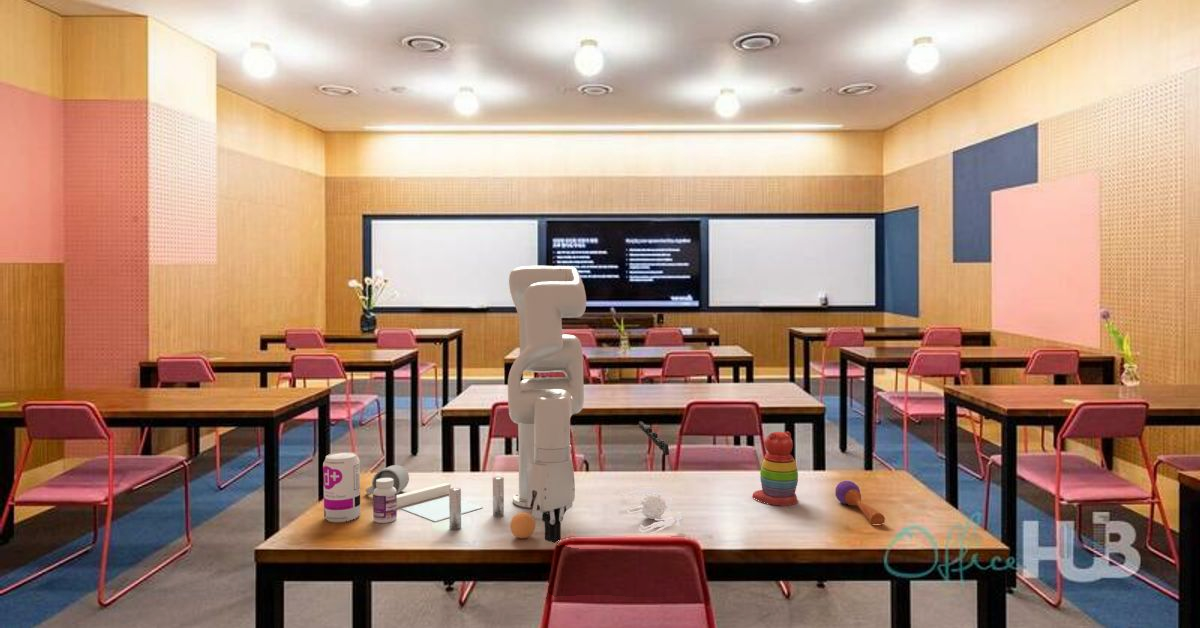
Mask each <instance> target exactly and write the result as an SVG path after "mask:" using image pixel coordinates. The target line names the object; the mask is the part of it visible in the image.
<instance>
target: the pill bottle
mask: <svg viewBox="0 0 1200 628" xmlns="http://www.w3.org/2000/svg"><path fill="white" fill-rule="evenodd" d="M393 484H394V481H393V479H392V478H380V479H377V480H376V487H377V488H376V489H375V490H374V491H373V493H372V504H373V505H372V508H373V509H372V512H373V515H372V519H373V522H375V523H379V524H389V523H391V522H394V521H396V520H397V517H398V512H397V511H398V510H397V509H398V508H397V495H398V494H397V491H396V488H395V487H393Z"/></svg>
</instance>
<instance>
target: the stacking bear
mask: <svg viewBox="0 0 1200 628" xmlns="http://www.w3.org/2000/svg"><path fill="white" fill-rule="evenodd" d="M793 444H794V443H793V439H792V434H791V432H790V431H789V430H788V431H785V432H783V431H774V432H771V433H769V435H767V437H766V438H765V440H764V446H765V450H766V451H767V453H766V454H764V458H763V460H762V462H761V463H762V464H761V467H760V473H759V475H760V483H761V489H759V490H756V491H754V492H753V493H752V499H753V498H755V499H757V500H759V501H762V502H765V503H768V504H767V505H770V504H774V505H773V506H775V505H782V506H781V507H784V506H783V505H789V506H793V505H795V504H797V502H798V497H797V494H796V490H797V486H798V480H799V472H798V469H797V468H798V467H797V466H798V465H797V462H796V460H795V459H794V457H793V455H792V454H791V453H792V450H793V446H794V445H793ZM755 499H754V500H755ZM757 500H756V501H757ZM759 501H758V502H759ZM762 502H761V503H762ZM765 503H764V504H765ZM792 504H793V505H792Z"/></svg>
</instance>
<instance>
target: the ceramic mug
mask: <svg viewBox="0 0 1200 628" xmlns="http://www.w3.org/2000/svg"><path fill="white" fill-rule="evenodd" d="M380 478H392V479H393V481H394V484H393V487H395V488H396V491H397V495H399V494H400V493H401V492H402V491H403V490H405V488H406V487H407V486H408V484H409V481H410V475H409V472H408V471H407V469H406V468H405V467H404V466H402V465H399V464H398V465H397V464H394V465H393V464H392V465H390V466H387V467H385V468H383V469H380V470H378V471H377V472H376V473H375V474H374V476H373V477H372V480H371V481H372V482H371V486H370V487H368V488H366V489H365V493H366V494H367V495H371V494H373V491H374V490H375V489H376V488H377V487H376V480H377V479H380Z"/></svg>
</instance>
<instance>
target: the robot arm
mask: <svg viewBox="0 0 1200 628" xmlns="http://www.w3.org/2000/svg"><path fill="white" fill-rule="evenodd" d="M578 270H579V269H577V267H574V266H569V265H567V266H566V265H565V266H564V265H563V266H562V265H554V266H553V265H526V266H518V267H516V268H514V269H512V271H510V273H509V277H508V285H509V292H510V297H511V299H512V302H513V304H514V307H515V309H516V312H517V316H518V321H519V322H518V324H519V326H518V327H519V333H518V334H519V354H518V356H517V357H516V358H515V359H514V361H513V364H512V365H511V366H510V367H511V368H510V370H509V373H508V377H507V401H508V403H507V405H508V408H507V409H508V414H509V417H510V419H511V421H512V422H513V423H514V424H516V425H517V427H518V428H517V430H518V435H517V436H518V493H515V494H514V495H513V496H512V503H513V504H515V505H516V506H517V507H521V508H527V509H532V512H531V516H532V517H533V518H534V519H541V521H542V522H543V523H544V540H546V541H547V542H550V543H553V544H555V543H557V541H558V540H560V539H561V540H562V535H561V534H562V531H561V529H562V527H561V526H562V522H563V520H564V516H565V514H566V512H567V511H568V510H569V509H571V508H573V503H574V501H575V497H576V486H575V485H576V484H575V483H576V482H575V472H574V466H573V460H572V457H571V451H572V449H573V448H572V445H571V417H572V416H573V415H576V414H578V413H580V412H581V411H582V410H583V407H584V396H585V395H584V394H585V392H584V389H585V388H584V385H585V384H584V357H583V356H584V355H583V346H582V343H581V340H580V339H579V338H578V337H577V336H576V335H573V334H563V325H562V323H563V322H562V318H580V317H582V316H584V314H585V311H586V307H587V295H586V290H585V285H584V283H583V280H582V277H581V274H580V272H579V271H578ZM525 371H526V372H529V373H557V372H558V373H563V374H564V375H565V376H564V377H563V376H562V377H558V376H556V377H549V376H547V377H530V378H525V379H522V380H521V378H522V375H523V373H524V372H525ZM558 542H559V541H558Z"/></svg>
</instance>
